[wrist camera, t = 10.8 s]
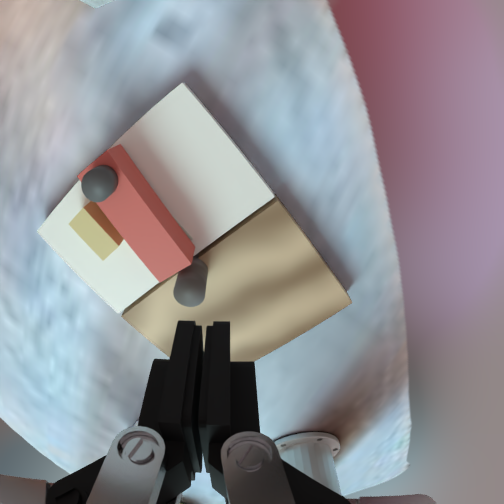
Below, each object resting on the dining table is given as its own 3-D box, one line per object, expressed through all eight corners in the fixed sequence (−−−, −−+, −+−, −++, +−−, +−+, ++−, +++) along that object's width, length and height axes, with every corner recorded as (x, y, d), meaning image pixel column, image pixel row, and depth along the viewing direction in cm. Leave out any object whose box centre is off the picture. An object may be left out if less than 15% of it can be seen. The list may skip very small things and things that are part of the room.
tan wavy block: (346, 292, 31) (364, 326, 26) (207, 374, 35) (205, 410, 31) (270, 188, 26) (279, 210, 21) (121, 301, 30) (106, 336, 26)
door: (272, 190, 26) (279, 207, 22) (123, 302, 30) (110, 331, 26) (185, 83, 22) (176, 80, 18) (45, 223, 26) (22, 244, 22)
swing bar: (195, 246, 26) (189, 273, 22) (166, 264, 26) (156, 293, 23) (120, 143, 22) (99, 154, 18) (92, 167, 22) (68, 181, 18)
